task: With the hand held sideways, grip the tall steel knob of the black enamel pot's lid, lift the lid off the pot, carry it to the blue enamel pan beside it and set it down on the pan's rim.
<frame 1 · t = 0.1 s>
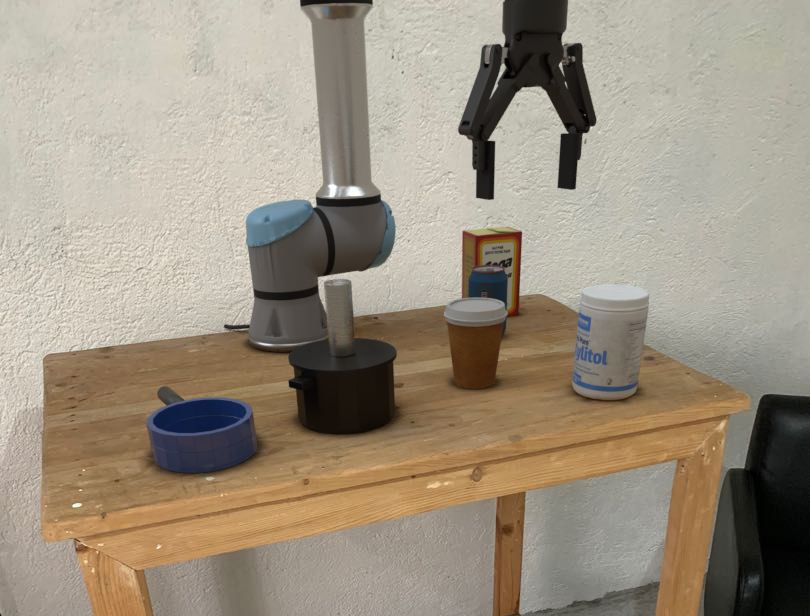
hand: (526, 193, 103), 28 cm above the table, tool pointing down, fingers open, 13 cm apart
pot: (346, 415, 113), on the table
lid: (342, 357, 109), point 8 cm above the table, touching pot
disposable coffee cup: (474, 383, 124), on the table
supplement tub: (604, 392, 119), on the table
pan: (206, 451, 104), on the table
soda can: (486, 336, 146), on the table
baking soda box: (489, 314, 159), on the table
pan handle: (174, 401, 110), point 4 cm above the table
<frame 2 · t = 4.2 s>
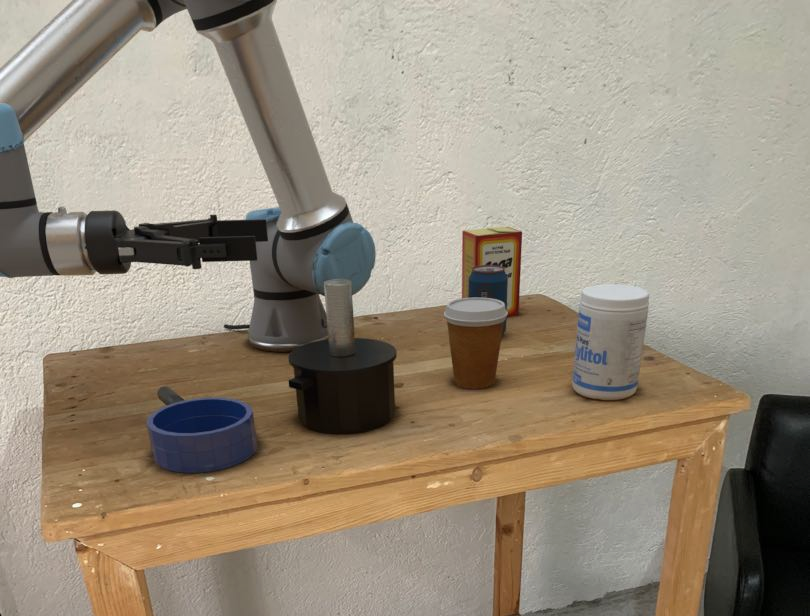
hand: (262, 238, 101), 24 cm above the table, tool horizontal, fingers open, 13 cm apart
nothing on the table moved.
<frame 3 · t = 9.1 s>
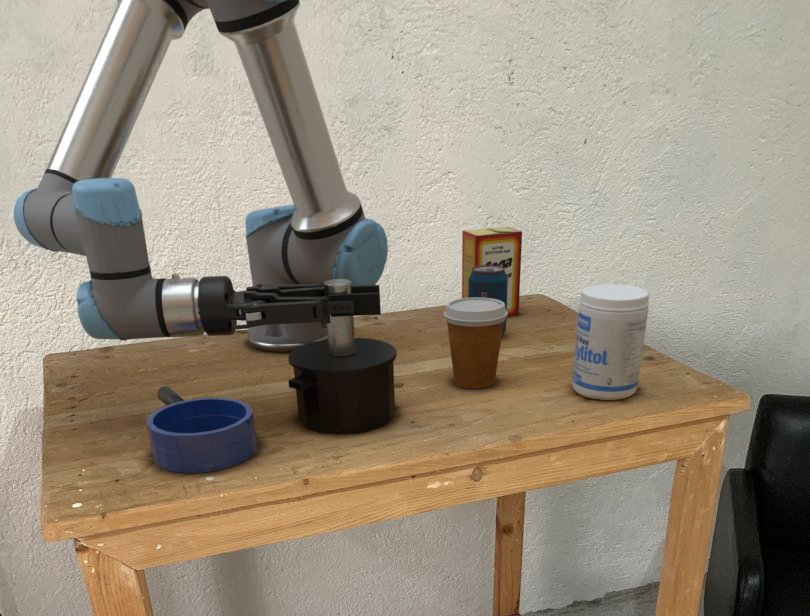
hand: (379, 299, 105), 16 cm above the table, tool horizontal, fingers closed on lid, 4 cm apart
lid: (342, 357, 109), point 8 cm above the table, touching gripper, pot
everything else where it was.
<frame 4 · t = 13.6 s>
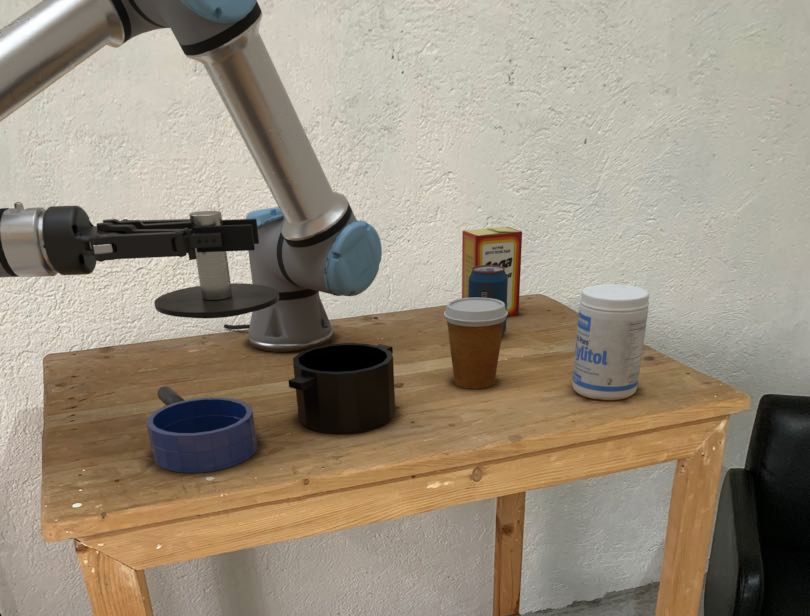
hand: (254, 234, 93), 26 cm above the table, tool horizontal, fingers closed on lid, 4 cm apart
lid: (217, 301, 97), point 19 cm above the table, touching gripper
everything else where it was.
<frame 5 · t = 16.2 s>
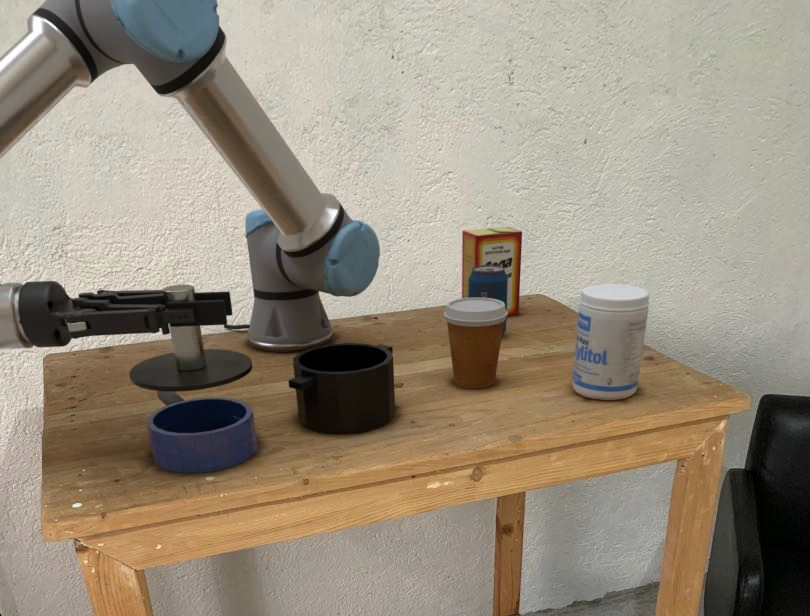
hand: (227, 307, 95), 18 cm above the table, tool horizontal, fingers closed on lid, 4 cm apart
lid: (192, 371, 98), point 11 cm above the table, touching gripper
everything else where it was.
when the fingers open (13 cm above the table, at t = 18.0 s): lid stays where it is, resting on pan.
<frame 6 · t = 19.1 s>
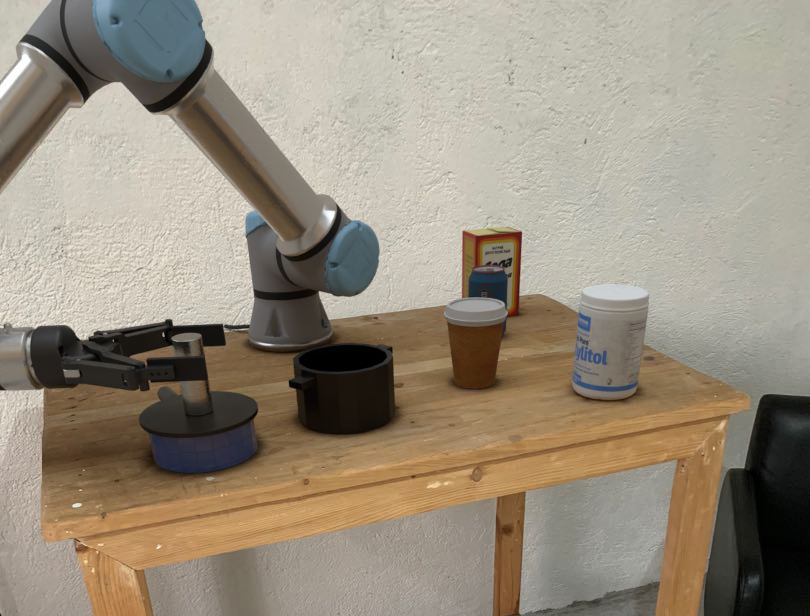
hand: (216, 350, 97), 13 cm above the table, tool horizontal, fingers open, 13 cm apart
lid: (199, 415, 101), point 5 cm above the table, touching pan
everything else where it was.
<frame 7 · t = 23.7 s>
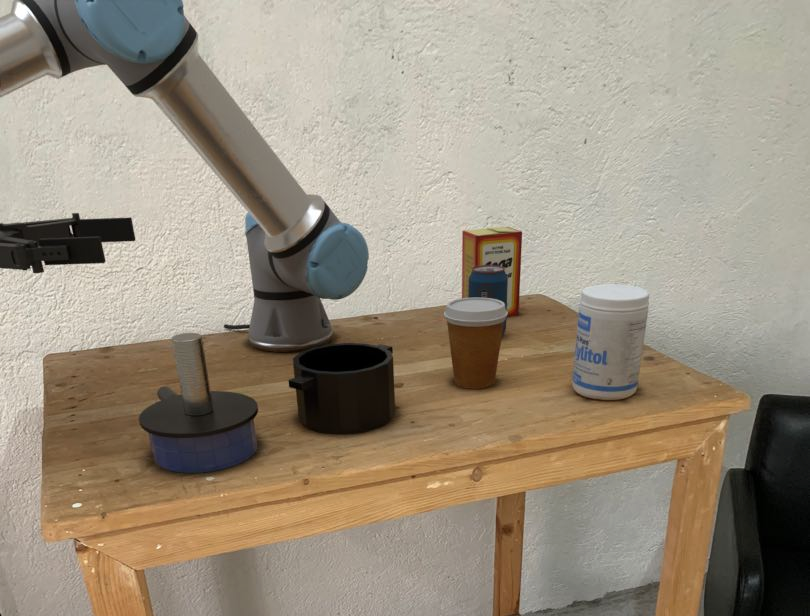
hand: (118, 238, 94), 26 cm above the table, tool horizontal, fingers open, 13 cm apart
nothing on the table moved.
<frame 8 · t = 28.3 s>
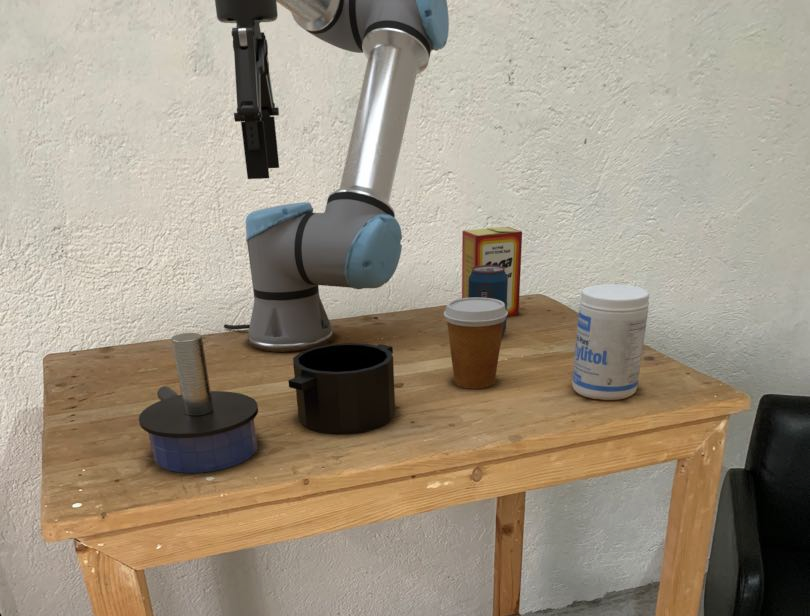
hand: (264, 173, 108), 31 cm above the table, tool pointing down, fingers open, 13 cm apart
nothing on the table moved.
at the end: lid 0.1 cm off-centre on the pan, point 5.0 cm above the pan's base; lid tilted 0°; the gripper is holding nothing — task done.
